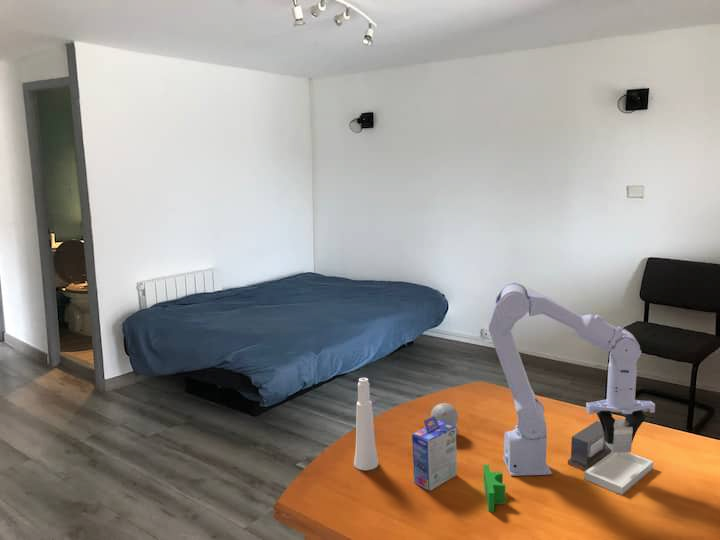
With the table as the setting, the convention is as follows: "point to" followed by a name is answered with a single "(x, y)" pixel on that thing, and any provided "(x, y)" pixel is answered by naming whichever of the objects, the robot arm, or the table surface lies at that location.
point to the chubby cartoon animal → (445, 414)
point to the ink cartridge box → (434, 454)
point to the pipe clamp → (493, 488)
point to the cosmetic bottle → (365, 429)
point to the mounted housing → (588, 447)
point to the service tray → (618, 471)
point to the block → (621, 436)
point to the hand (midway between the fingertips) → (618, 441)
